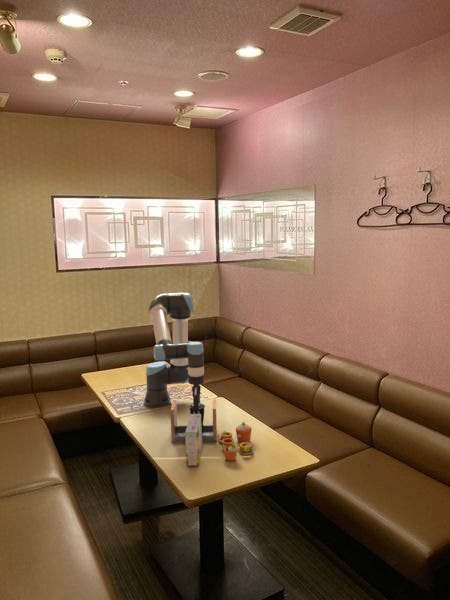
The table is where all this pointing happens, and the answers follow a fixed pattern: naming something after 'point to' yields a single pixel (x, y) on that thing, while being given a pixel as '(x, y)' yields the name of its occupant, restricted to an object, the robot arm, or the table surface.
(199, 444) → the snack box
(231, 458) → the toy tea set
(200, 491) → the table surface
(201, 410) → the drinking cup
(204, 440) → the two-post stand
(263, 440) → the table surface
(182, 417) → the table surface
